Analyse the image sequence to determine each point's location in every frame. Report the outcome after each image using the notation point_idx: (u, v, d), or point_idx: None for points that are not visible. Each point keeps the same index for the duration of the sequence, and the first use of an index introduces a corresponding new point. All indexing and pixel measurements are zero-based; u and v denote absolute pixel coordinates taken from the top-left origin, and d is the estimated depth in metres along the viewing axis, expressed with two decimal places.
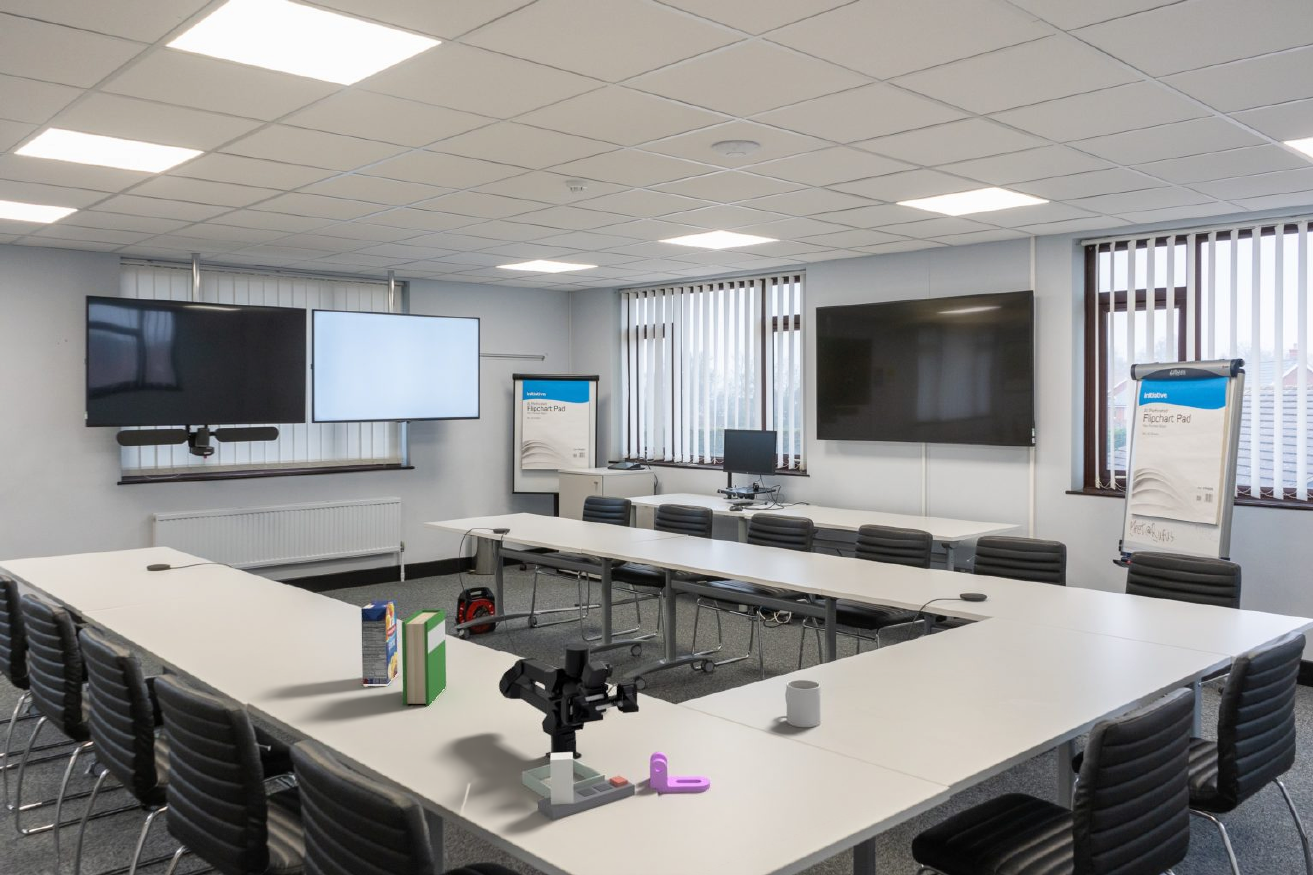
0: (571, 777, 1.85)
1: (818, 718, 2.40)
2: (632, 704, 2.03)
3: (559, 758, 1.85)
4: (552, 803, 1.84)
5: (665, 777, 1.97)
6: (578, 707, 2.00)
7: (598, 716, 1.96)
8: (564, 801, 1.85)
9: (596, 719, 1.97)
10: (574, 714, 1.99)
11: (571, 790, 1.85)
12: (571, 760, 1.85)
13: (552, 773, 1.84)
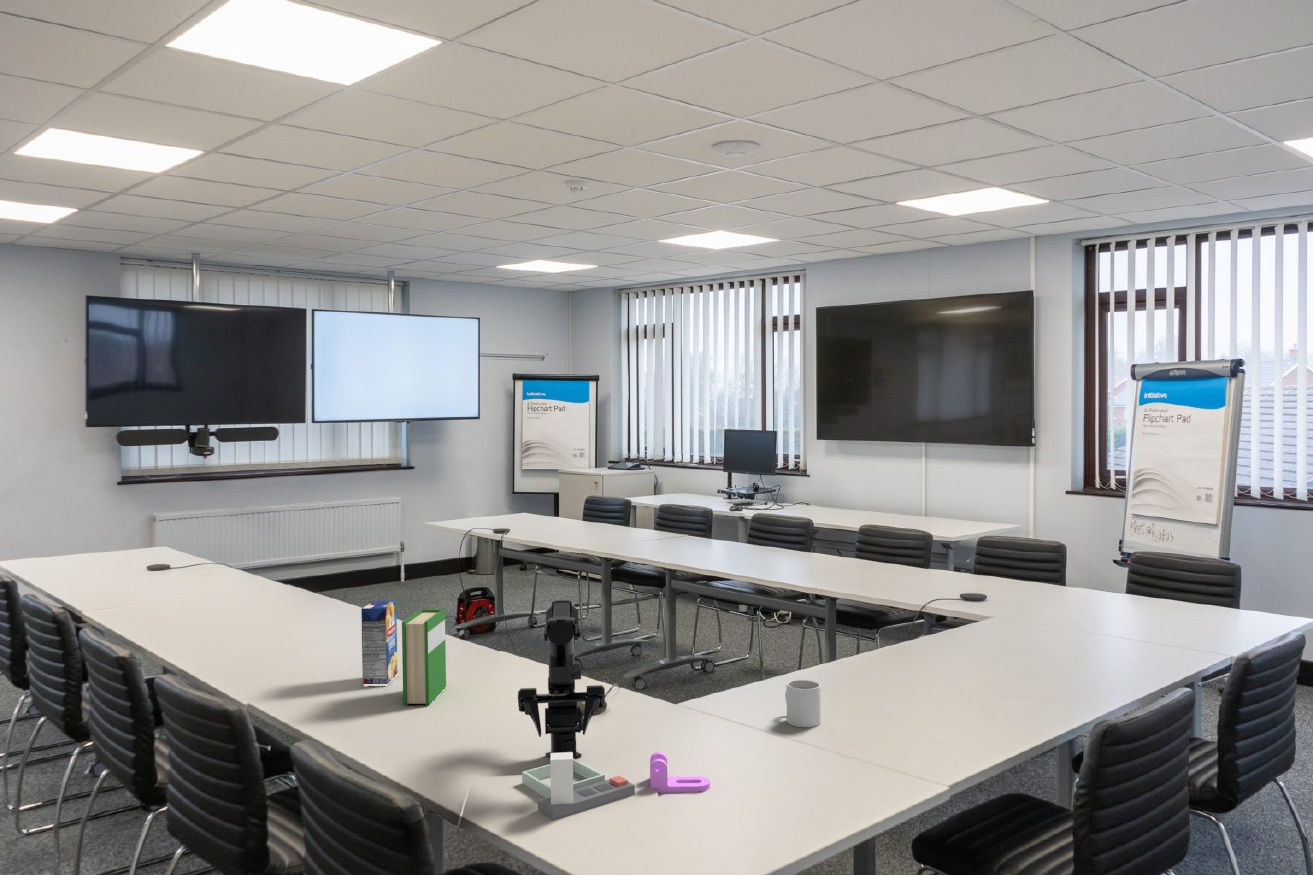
0: (571, 777, 1.85)
1: (818, 718, 2.40)
2: (583, 723, 1.96)
3: (559, 758, 1.85)
4: (552, 803, 1.84)
5: (665, 777, 1.97)
6: (530, 706, 1.98)
7: (537, 731, 1.94)
8: (564, 801, 1.85)
9: (538, 731, 1.96)
10: (525, 710, 1.99)
11: (571, 790, 1.85)
12: (571, 760, 1.85)
13: (552, 773, 1.84)
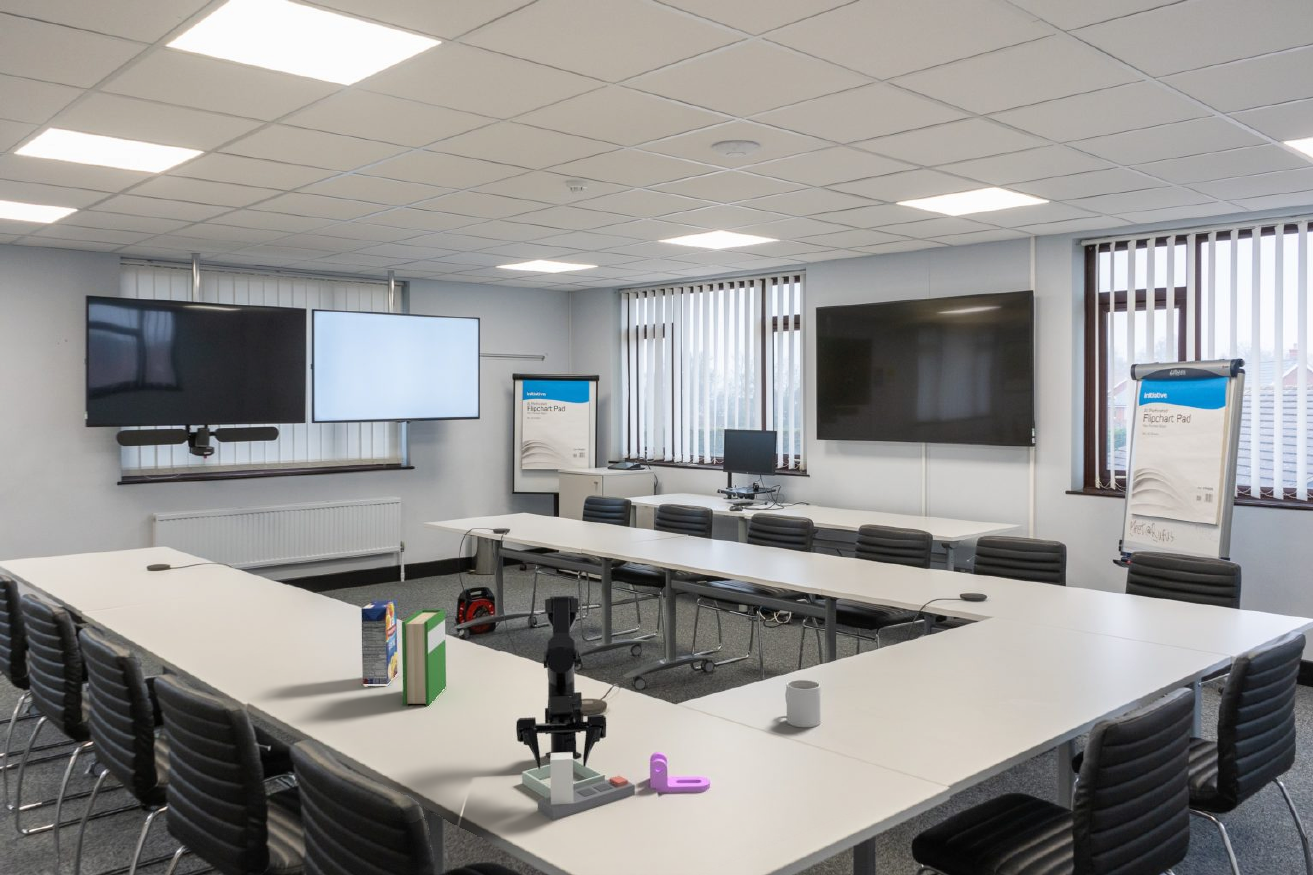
0: (571, 777, 1.85)
1: (818, 718, 2.40)
2: None
3: (559, 758, 1.85)
4: (552, 803, 1.84)
5: (665, 777, 1.97)
6: (529, 737, 1.92)
7: (537, 763, 1.88)
8: (564, 801, 1.85)
9: (537, 762, 1.89)
10: (524, 740, 1.92)
11: (571, 790, 1.85)
12: (571, 760, 1.85)
13: (552, 773, 1.84)
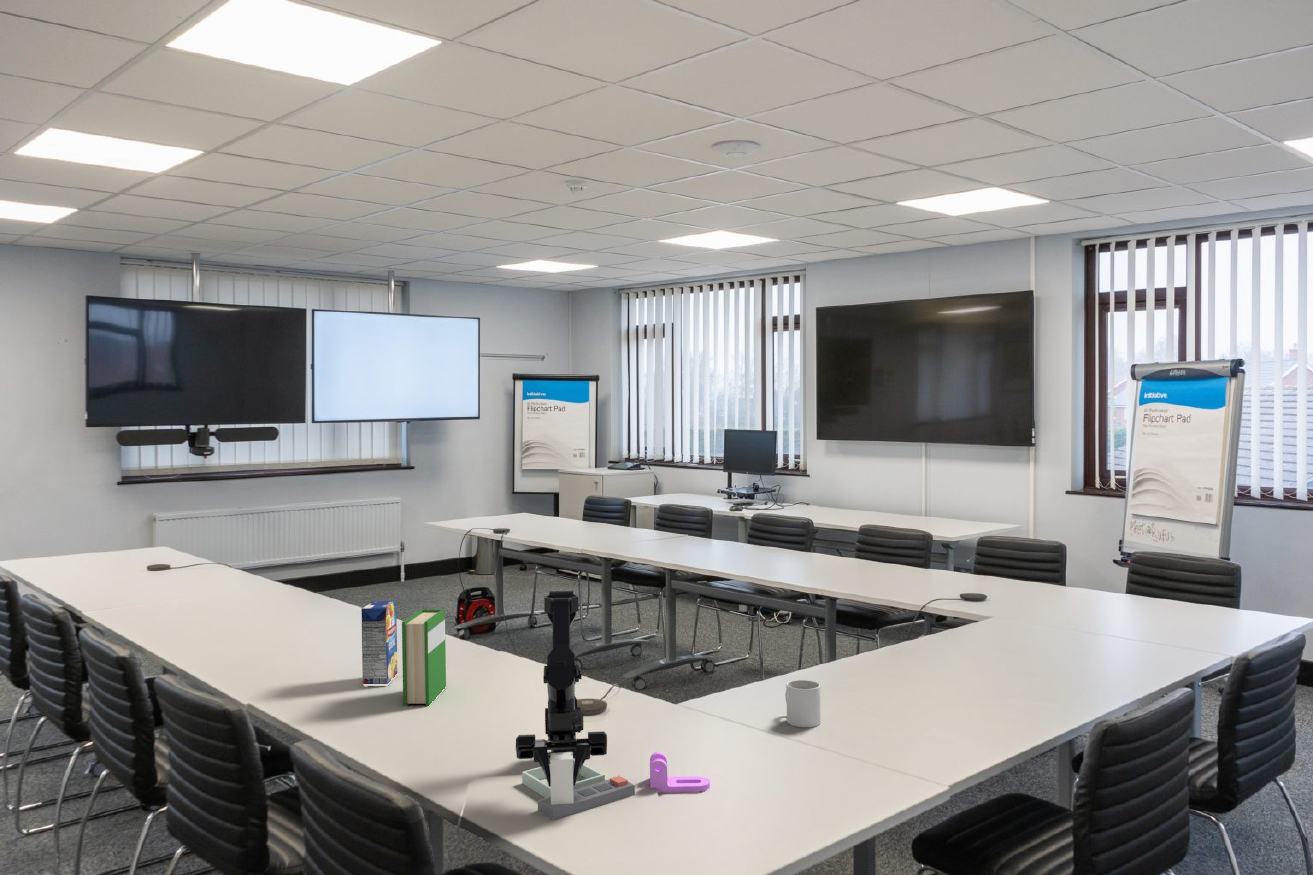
0: (571, 777, 1.85)
1: (818, 718, 2.40)
2: (573, 773, 1.86)
3: (559, 758, 1.85)
4: (552, 803, 1.84)
5: (665, 777, 1.97)
6: (539, 754, 1.89)
7: (547, 781, 1.85)
8: (564, 801, 1.85)
9: None
10: (534, 757, 1.90)
11: (571, 790, 1.85)
12: (571, 760, 1.85)
13: (552, 773, 1.84)
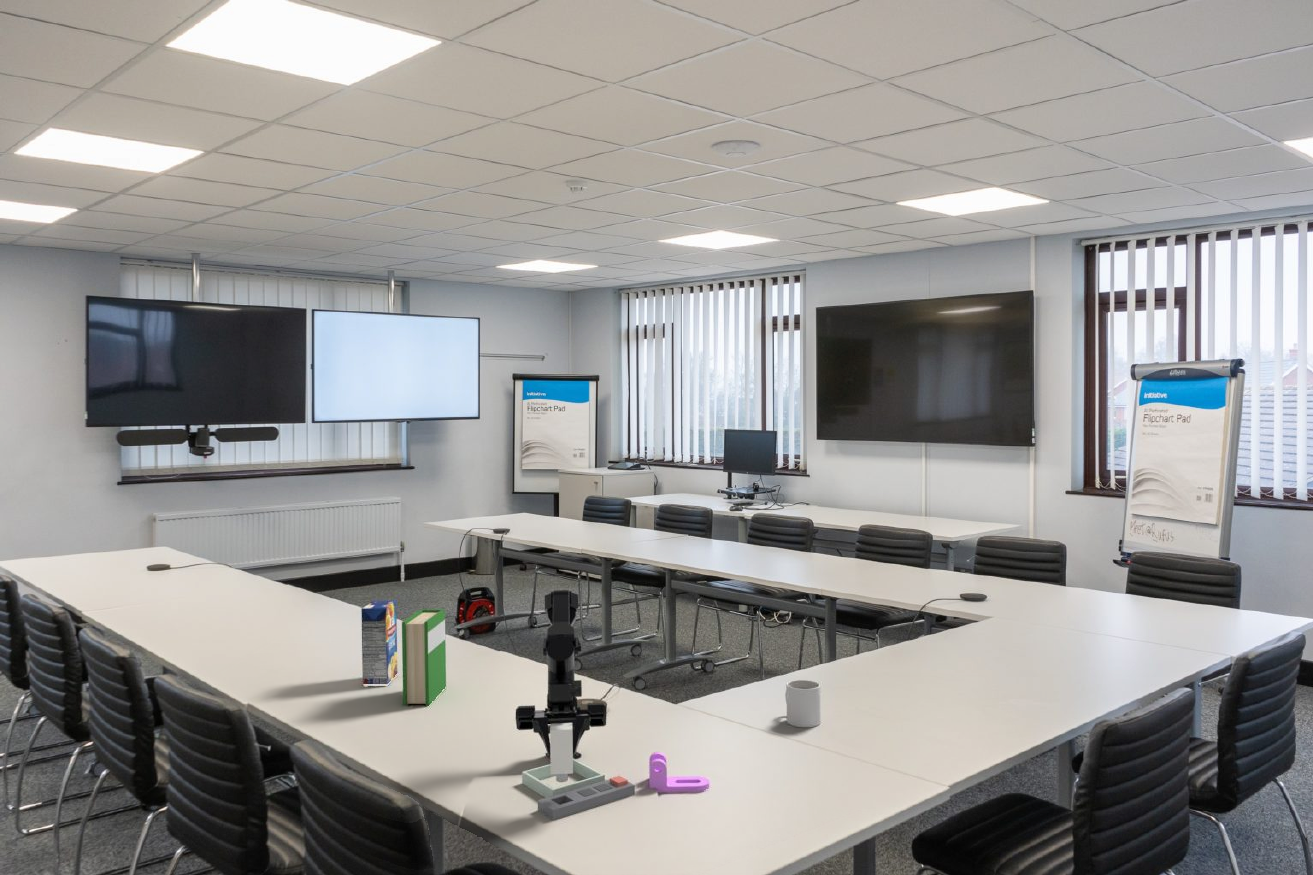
0: (570, 747, 1.86)
1: (818, 718, 2.40)
2: (573, 743, 1.87)
3: (559, 728, 1.86)
4: (552, 773, 1.85)
5: (664, 777, 1.97)
6: (539, 724, 1.90)
7: (547, 751, 1.86)
8: (564, 771, 1.86)
9: (547, 750, 1.88)
10: (534, 728, 1.91)
11: (571, 760, 1.86)
12: (571, 730, 1.86)
13: (552, 743, 1.85)
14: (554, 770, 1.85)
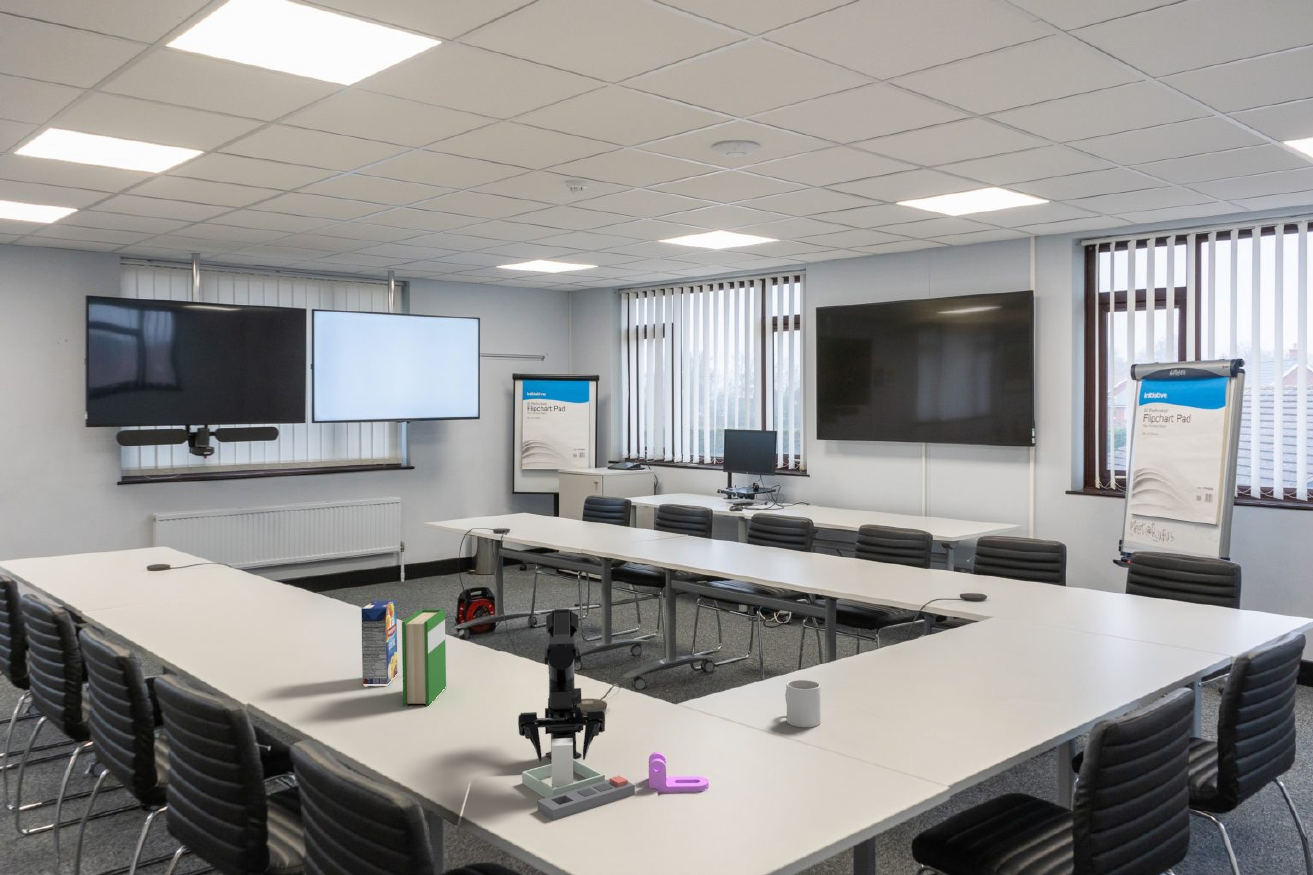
0: (571, 762, 1.94)
1: (818, 718, 2.40)
2: (583, 748, 1.97)
3: (560, 744, 1.95)
4: (553, 786, 1.94)
5: (664, 777, 1.97)
6: None
7: (538, 756, 1.95)
8: (564, 784, 1.94)
9: (538, 755, 1.96)
10: (526, 734, 1.99)
11: (571, 774, 1.95)
12: (571, 746, 1.94)
13: (553, 758, 1.94)
14: (555, 783, 1.94)
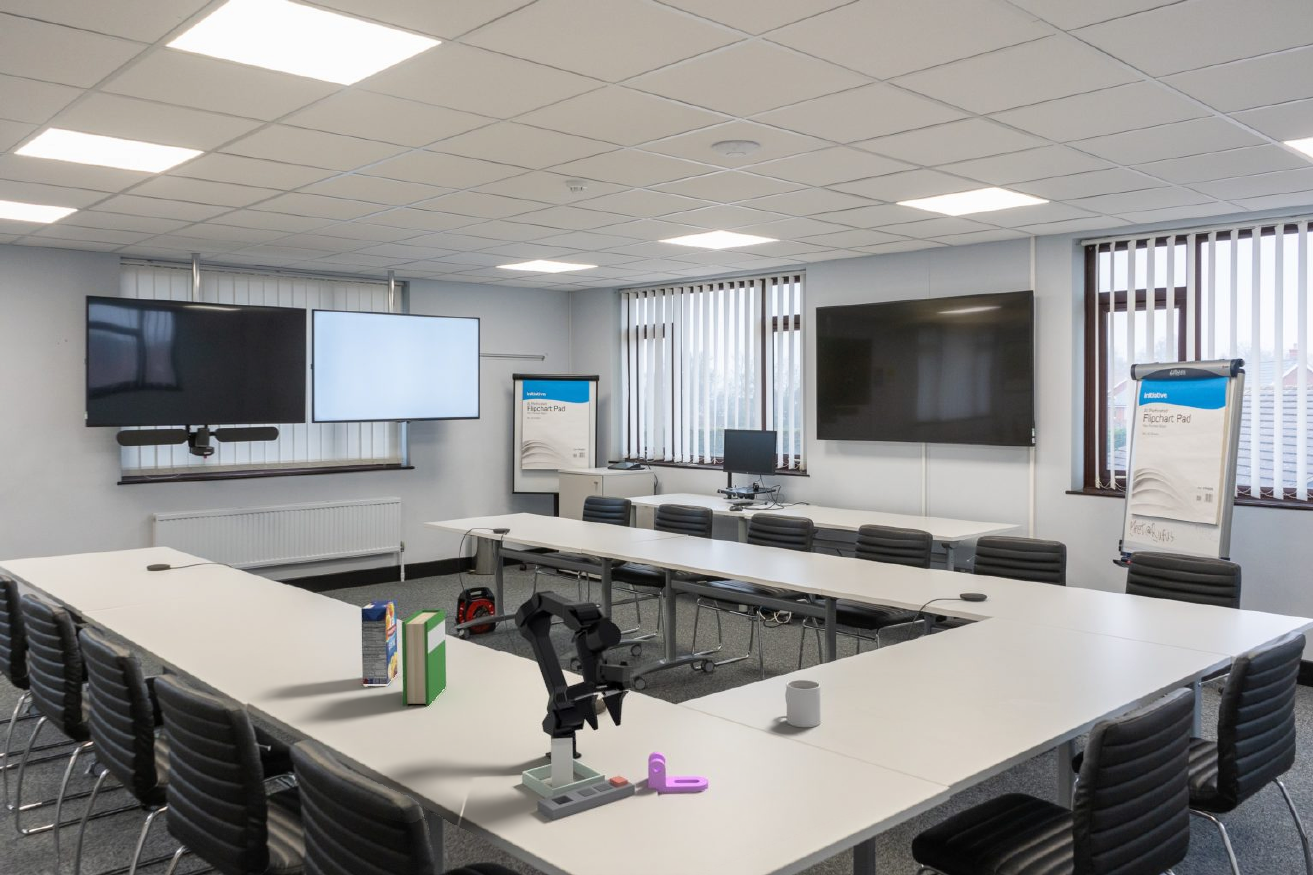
0: (570, 762, 1.95)
1: (818, 718, 2.40)
2: (617, 715, 2.07)
3: (559, 743, 1.95)
4: (553, 786, 1.94)
5: (663, 777, 1.97)
6: (586, 699, 1.99)
7: (594, 725, 1.99)
8: (564, 784, 1.95)
9: (590, 723, 1.99)
10: (578, 701, 1.99)
11: (571, 774, 1.95)
12: (571, 745, 1.95)
13: (553, 757, 1.94)
14: (555, 783, 1.94)
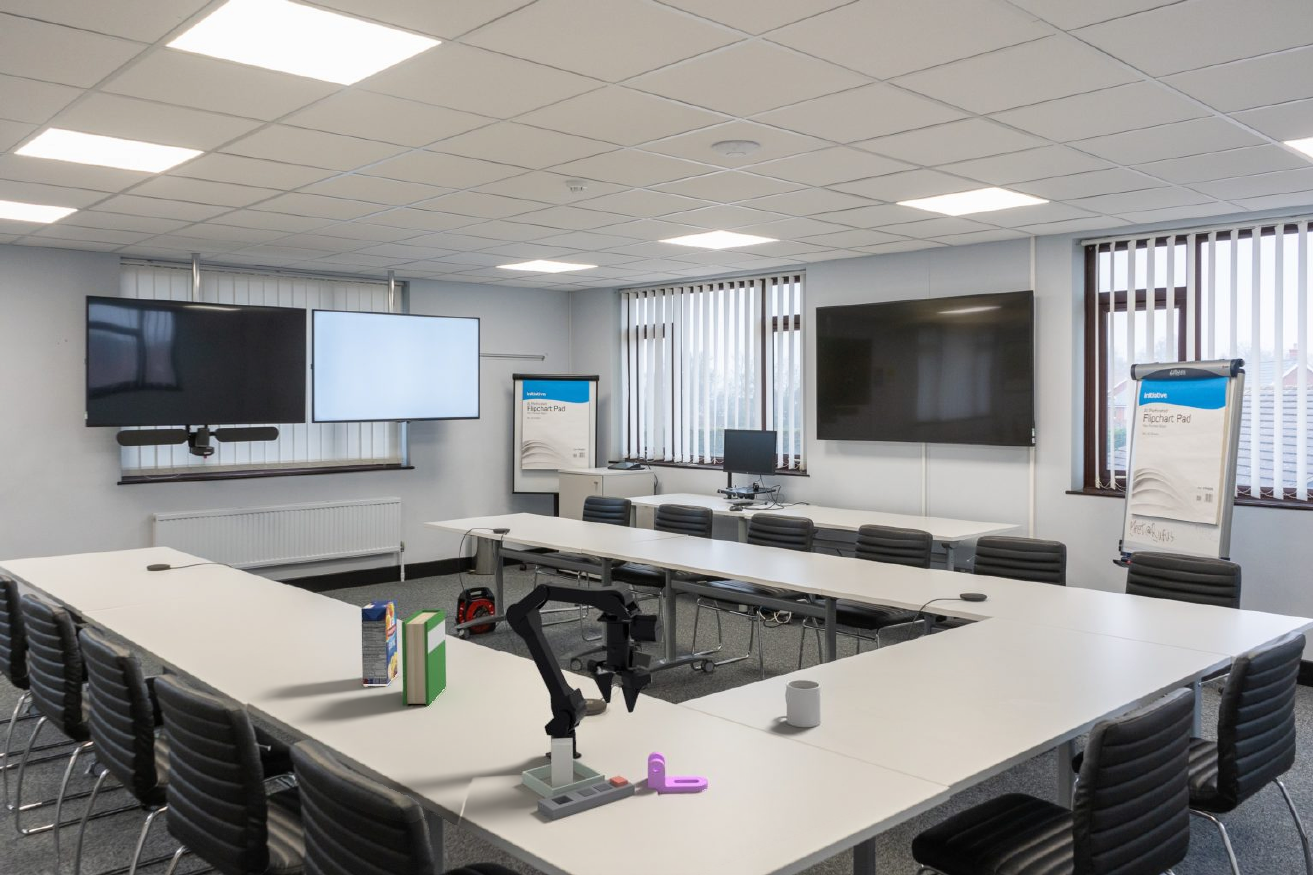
0: (570, 762, 1.95)
1: (818, 718, 2.40)
2: (609, 693, 2.18)
3: (559, 743, 1.95)
4: (553, 786, 1.94)
5: (663, 777, 1.97)
6: None
7: (631, 708, 2.11)
8: (564, 784, 1.95)
9: (628, 706, 2.10)
10: None
11: (571, 774, 1.95)
12: (571, 745, 1.95)
13: (553, 757, 1.94)
14: (555, 783, 1.94)
